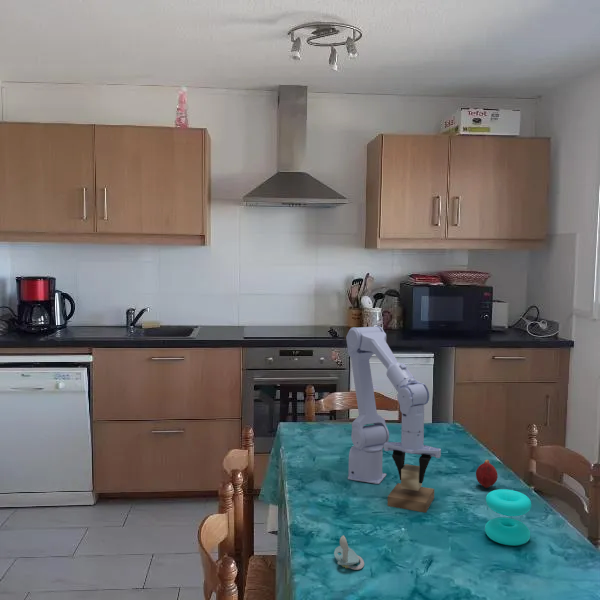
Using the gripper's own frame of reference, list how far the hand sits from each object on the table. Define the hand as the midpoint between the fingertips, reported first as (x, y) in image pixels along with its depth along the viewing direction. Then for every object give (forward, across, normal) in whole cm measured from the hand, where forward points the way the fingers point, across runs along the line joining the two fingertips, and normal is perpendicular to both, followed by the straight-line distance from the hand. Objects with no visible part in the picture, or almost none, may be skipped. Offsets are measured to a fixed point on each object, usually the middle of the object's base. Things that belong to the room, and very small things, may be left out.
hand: (411, 480), depth 162 cm
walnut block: (+6, 0, 0) cm, 6 cm away
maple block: (+2, 0, 0) cm, 2 cm away
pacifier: (+6, -4, -37) cm, 38 cm away
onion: (+6, +17, +18) cm, 25 cm away
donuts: (+6, +25, -11) cm, 28 cm away
